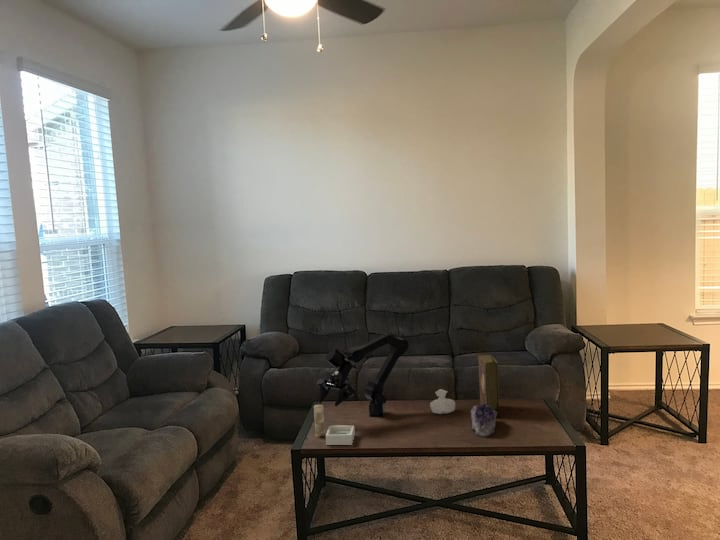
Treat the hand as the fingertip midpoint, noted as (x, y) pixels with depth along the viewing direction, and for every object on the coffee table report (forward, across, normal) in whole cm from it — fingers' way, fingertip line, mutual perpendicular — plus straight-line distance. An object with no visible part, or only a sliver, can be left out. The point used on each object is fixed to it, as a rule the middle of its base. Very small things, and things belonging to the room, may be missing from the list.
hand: (327, 404), depth 233 cm
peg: (+13, 0, +5) cm, 13 cm away
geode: (-18, +55, +36) cm, 68 cm away
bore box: (+12, +11, +5) cm, 17 cm away
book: (-32, +48, +49) cm, 76 cm away
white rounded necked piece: (-24, +29, +41) cm, 56 cm away
